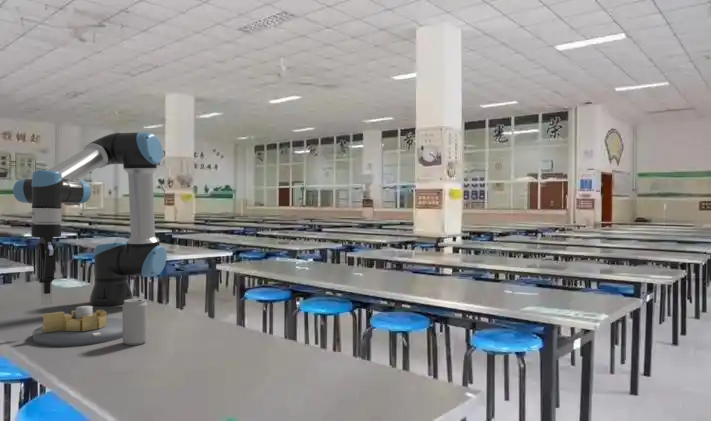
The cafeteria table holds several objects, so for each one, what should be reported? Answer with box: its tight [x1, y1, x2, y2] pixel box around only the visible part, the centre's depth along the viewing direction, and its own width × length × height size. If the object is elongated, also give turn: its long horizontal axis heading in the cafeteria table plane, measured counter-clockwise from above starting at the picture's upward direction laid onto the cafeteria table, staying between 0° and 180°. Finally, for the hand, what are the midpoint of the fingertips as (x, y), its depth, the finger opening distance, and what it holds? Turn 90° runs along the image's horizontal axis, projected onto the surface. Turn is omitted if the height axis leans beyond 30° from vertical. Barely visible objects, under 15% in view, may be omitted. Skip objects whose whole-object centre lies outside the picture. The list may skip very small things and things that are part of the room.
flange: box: [32, 305, 123, 347], centre depth 159 cm, size 26×26×8 cm
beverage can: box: [122, 298, 148, 346], centre depth 150 cm, size 6×6×12 cm
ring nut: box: [42, 309, 108, 333], centre depth 157 cm, size 16×11×5 cm
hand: (45, 304), depth 157 cm, fingers closed
